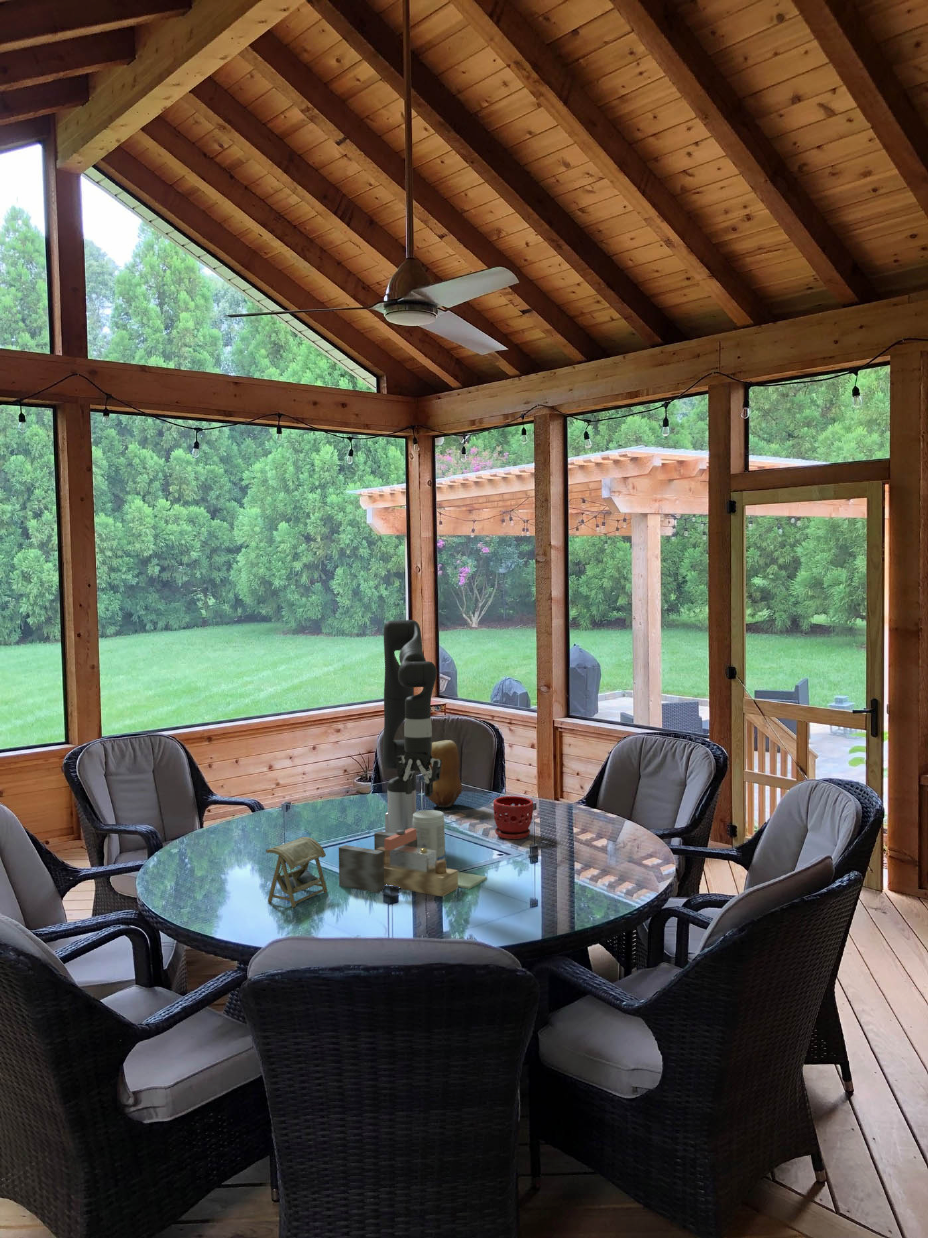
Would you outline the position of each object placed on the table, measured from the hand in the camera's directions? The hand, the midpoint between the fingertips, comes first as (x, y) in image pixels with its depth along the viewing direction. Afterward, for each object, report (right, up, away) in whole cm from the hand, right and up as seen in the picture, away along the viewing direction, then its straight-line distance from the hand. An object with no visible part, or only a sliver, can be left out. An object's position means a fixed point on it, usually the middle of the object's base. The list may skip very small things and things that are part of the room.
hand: (418, 794), depth 263 cm
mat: (+12, -25, +6) cm, 29 cm away
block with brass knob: (-2, -21, +2) cm, 21 cm away
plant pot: (+29, -24, +53) cm, 64 cm away
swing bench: (-32, -26, -7) cm, 42 cm away
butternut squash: (+5, -22, +94) cm, 96 cm away
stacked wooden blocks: (-4, -25, +4) cm, 26 cm away
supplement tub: (+2, -25, +24) cm, 35 cm away
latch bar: (-5, -14, +4) cm, 16 cm away
